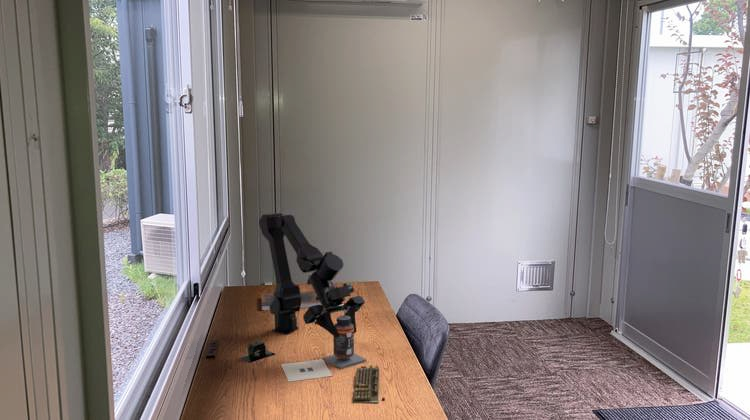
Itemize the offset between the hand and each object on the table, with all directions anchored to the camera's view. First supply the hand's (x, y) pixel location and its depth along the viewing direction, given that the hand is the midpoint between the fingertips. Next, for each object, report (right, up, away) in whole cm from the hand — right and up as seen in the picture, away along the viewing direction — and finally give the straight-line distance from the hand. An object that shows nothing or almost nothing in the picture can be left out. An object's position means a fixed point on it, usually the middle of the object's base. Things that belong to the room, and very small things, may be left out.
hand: (346, 334), depth 174 cm
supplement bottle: (-1, -6, +2) cm, 7 cm away
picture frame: (-24, 0, +59) cm, 64 cm away
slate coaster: (-1, -8, +2) cm, 8 cm away
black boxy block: (-27, -8, +5) cm, 28 cm away
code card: (-11, -9, -5) cm, 15 cm away
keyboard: (+7, -11, -14) cm, 19 cm away
